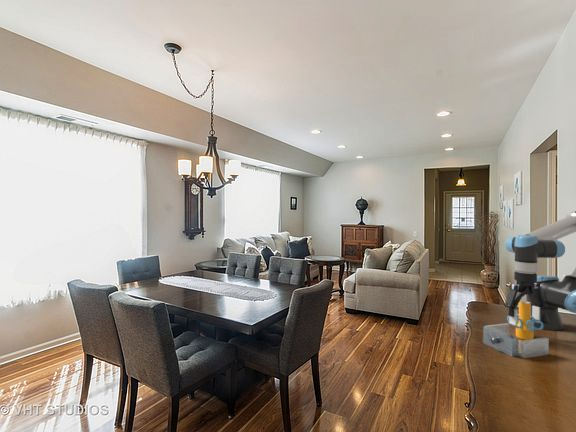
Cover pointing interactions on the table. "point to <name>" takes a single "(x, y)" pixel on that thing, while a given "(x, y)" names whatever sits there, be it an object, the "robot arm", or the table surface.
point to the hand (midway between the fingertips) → (524, 323)
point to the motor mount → (513, 342)
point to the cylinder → (525, 322)
